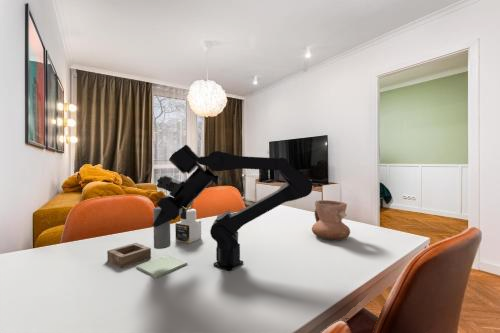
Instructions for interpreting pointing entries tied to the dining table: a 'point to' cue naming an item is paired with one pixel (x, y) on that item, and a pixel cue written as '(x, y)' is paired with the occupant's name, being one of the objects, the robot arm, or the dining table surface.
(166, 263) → the green mat
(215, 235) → the robot arm
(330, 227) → the ceramic jug
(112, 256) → the walnut collar
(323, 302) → the dining table surface
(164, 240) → the plug
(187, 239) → the medicine bottle
